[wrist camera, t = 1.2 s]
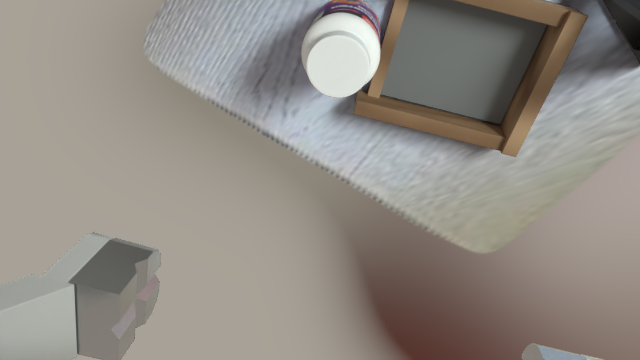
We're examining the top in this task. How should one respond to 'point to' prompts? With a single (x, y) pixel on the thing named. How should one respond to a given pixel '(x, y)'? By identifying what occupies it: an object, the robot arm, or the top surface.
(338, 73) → the pill bottle
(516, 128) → the tray
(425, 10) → the mat
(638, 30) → the phone stand
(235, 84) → the top surface
